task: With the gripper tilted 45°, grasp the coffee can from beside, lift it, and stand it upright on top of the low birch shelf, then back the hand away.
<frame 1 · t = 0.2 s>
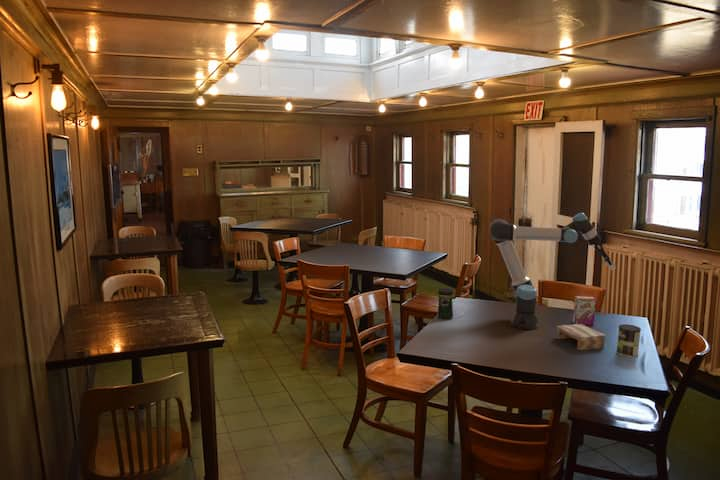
hand: (611, 267, 340), 36 cm above the table, tool tilted 35°, fingers open, 13 cm apart
coffee can: (627, 353, 300), on the table
coffee jar: (444, 318, 356), on the table
candy bar box: (583, 324, 349), on the table
birch shelf: (579, 342, 315), on the table
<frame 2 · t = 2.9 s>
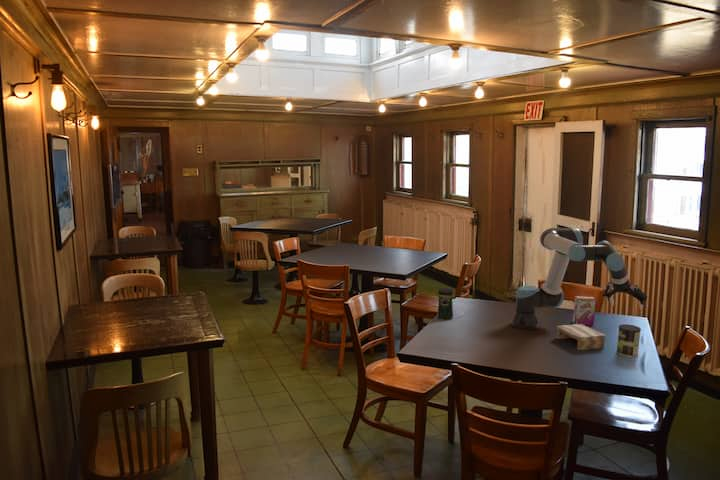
hand: (627, 305, 292), 26 cm above the table, tool tilted 40°, fingers open, 13 cm apart
nothing on the table moved.
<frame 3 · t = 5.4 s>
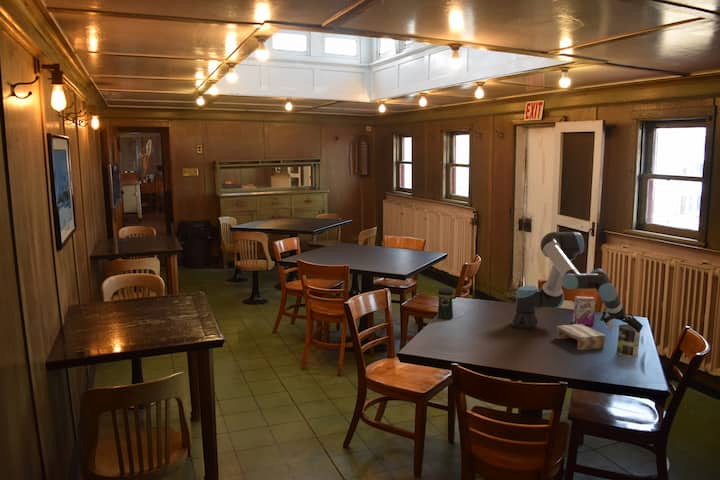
hand: (624, 331, 292), 14 cm above the table, tool tilted 45°, fingers open, 13 cm apart
nothing on the table moved.
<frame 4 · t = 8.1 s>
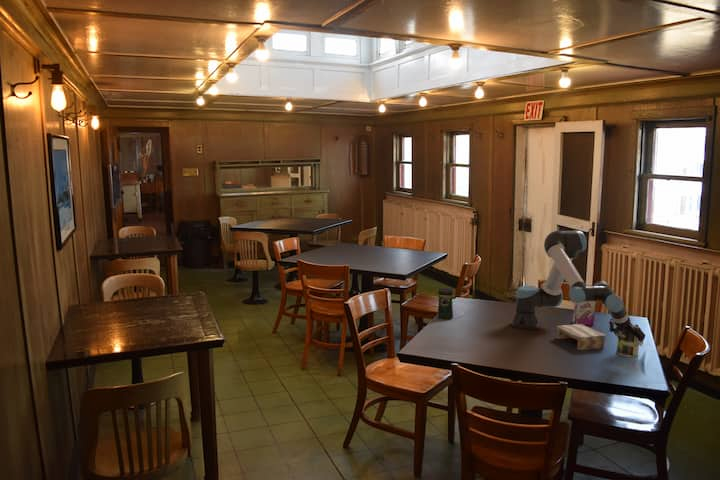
hand: (630, 341, 301), 6 cm above the table, tool tilted 45°, fingers closed on coffee can, 10 cm apart
coffee can: (627, 353, 300), on the table, touching gripper
everything else where it was.
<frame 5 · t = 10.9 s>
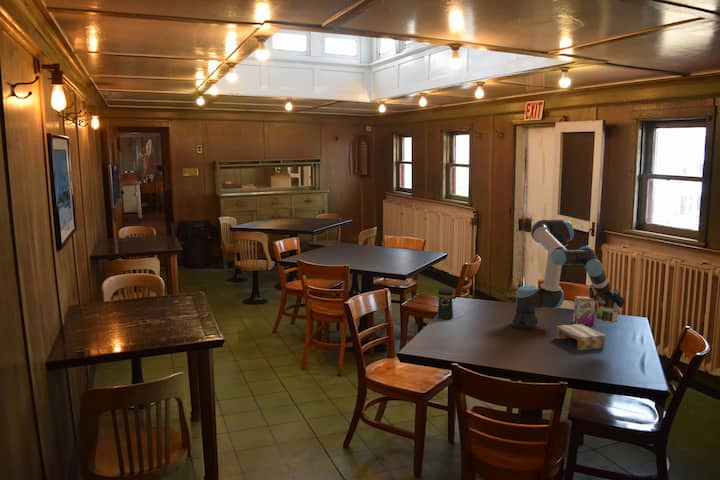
hand: (610, 307, 304), 22 cm above the table, tool tilted 45°, fingers closed on coffee can, 10 cm apart
coffee can: (606, 320, 303), point 16 cm above the table, touching gripper
everything else where it was.
when the fingers open (14 cm above the table, at t = 13.7 s): coffee can drops 1 cm, resting on birch shelf.
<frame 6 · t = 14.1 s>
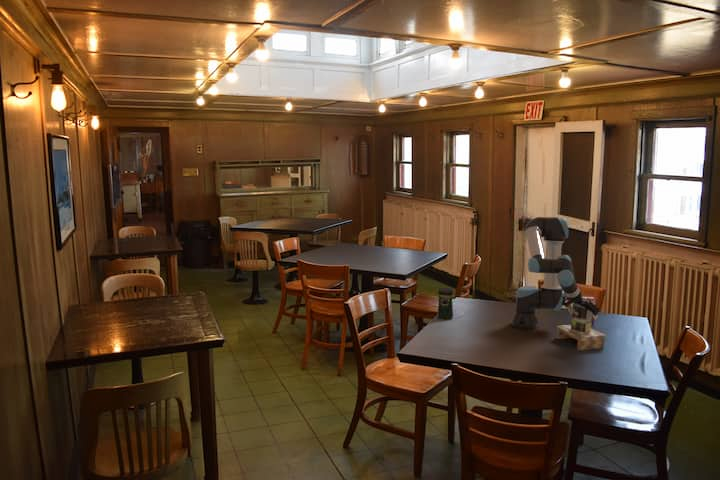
hand: (583, 315, 314), 15 cm above the table, tool tilted 45°, fingers open, 13 cm apart
coffee can: (580, 330, 313), point 7 cm above the table, touching birch shelf
everything else where it was.
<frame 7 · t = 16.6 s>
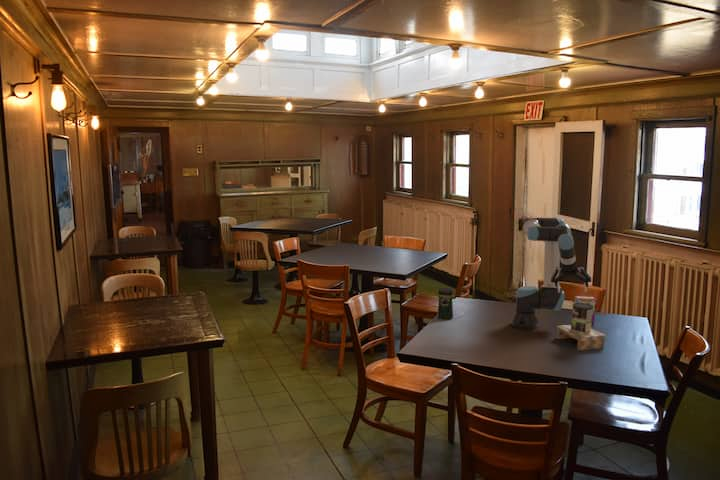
hand: (572, 290, 313), 28 cm above the table, tool tilted 30°, fingers open, 13 cm apart
nothing on the table moved.
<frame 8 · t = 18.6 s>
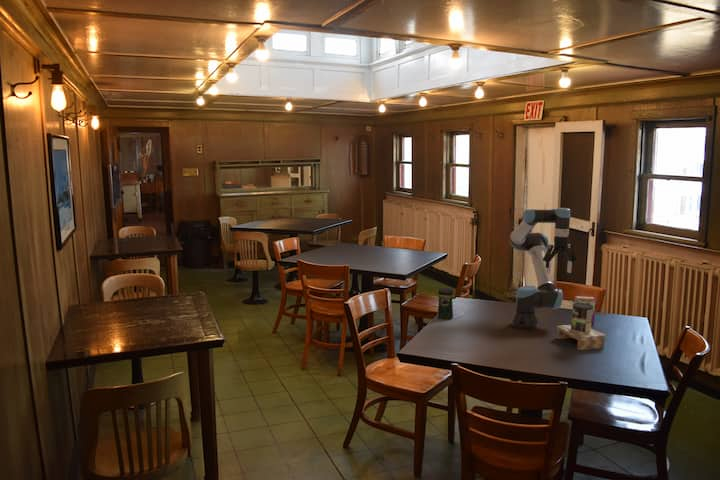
hand: (558, 273, 326), 35 cm above the table, tool pointing down, fingers open, 13 cm apart
nothing on the table moved.
at the end: coffee can inside the target area on the birch shelf (0.2 cm from its centre), point 6.8 cm above the birch shelf's base; coffee can tilted 0°; the gripper is holding nothing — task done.
